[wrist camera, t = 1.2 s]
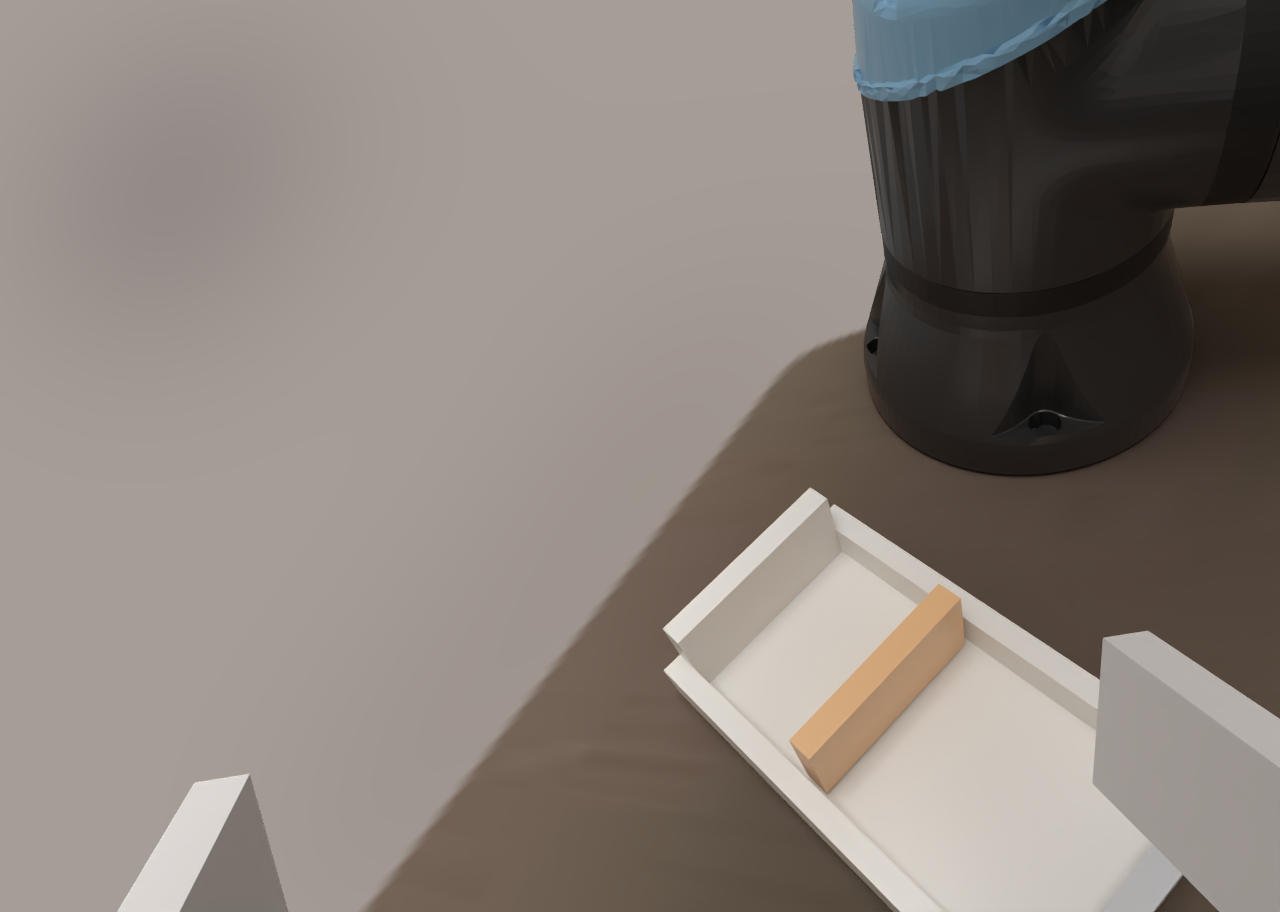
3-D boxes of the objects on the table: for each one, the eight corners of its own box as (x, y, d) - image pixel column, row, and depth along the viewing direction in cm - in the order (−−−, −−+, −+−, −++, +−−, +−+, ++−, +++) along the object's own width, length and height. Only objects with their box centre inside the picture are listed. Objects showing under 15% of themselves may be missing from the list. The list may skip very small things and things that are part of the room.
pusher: (944, 630, 35) (938, 583, 32) (964, 644, 34) (961, 598, 31) (808, 775, 33) (788, 740, 30) (827, 793, 32) (808, 759, 29)
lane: (841, 532, 40) (825, 472, 37) (1238, 805, 28) (1271, 756, 25) (679, 693, 38) (645, 645, 34) (1039, 1061, 26) (1044, 1049, 22)
